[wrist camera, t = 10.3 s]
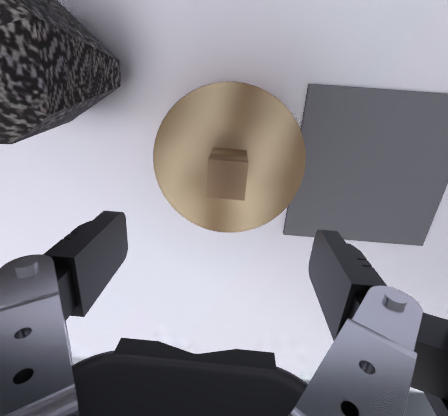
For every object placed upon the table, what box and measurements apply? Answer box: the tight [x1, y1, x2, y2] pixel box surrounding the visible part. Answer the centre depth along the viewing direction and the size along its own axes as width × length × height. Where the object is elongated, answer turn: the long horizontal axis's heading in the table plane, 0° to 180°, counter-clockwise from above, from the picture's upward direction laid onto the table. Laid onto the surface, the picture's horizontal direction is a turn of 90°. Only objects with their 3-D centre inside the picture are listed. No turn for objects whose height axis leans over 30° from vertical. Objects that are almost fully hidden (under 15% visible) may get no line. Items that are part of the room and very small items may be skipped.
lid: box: [153, 82, 306, 232], centre depth 22 cm, size 13×13×5 cm
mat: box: [283, 84, 448, 246], centre depth 29 cm, size 16×16×1 cm
